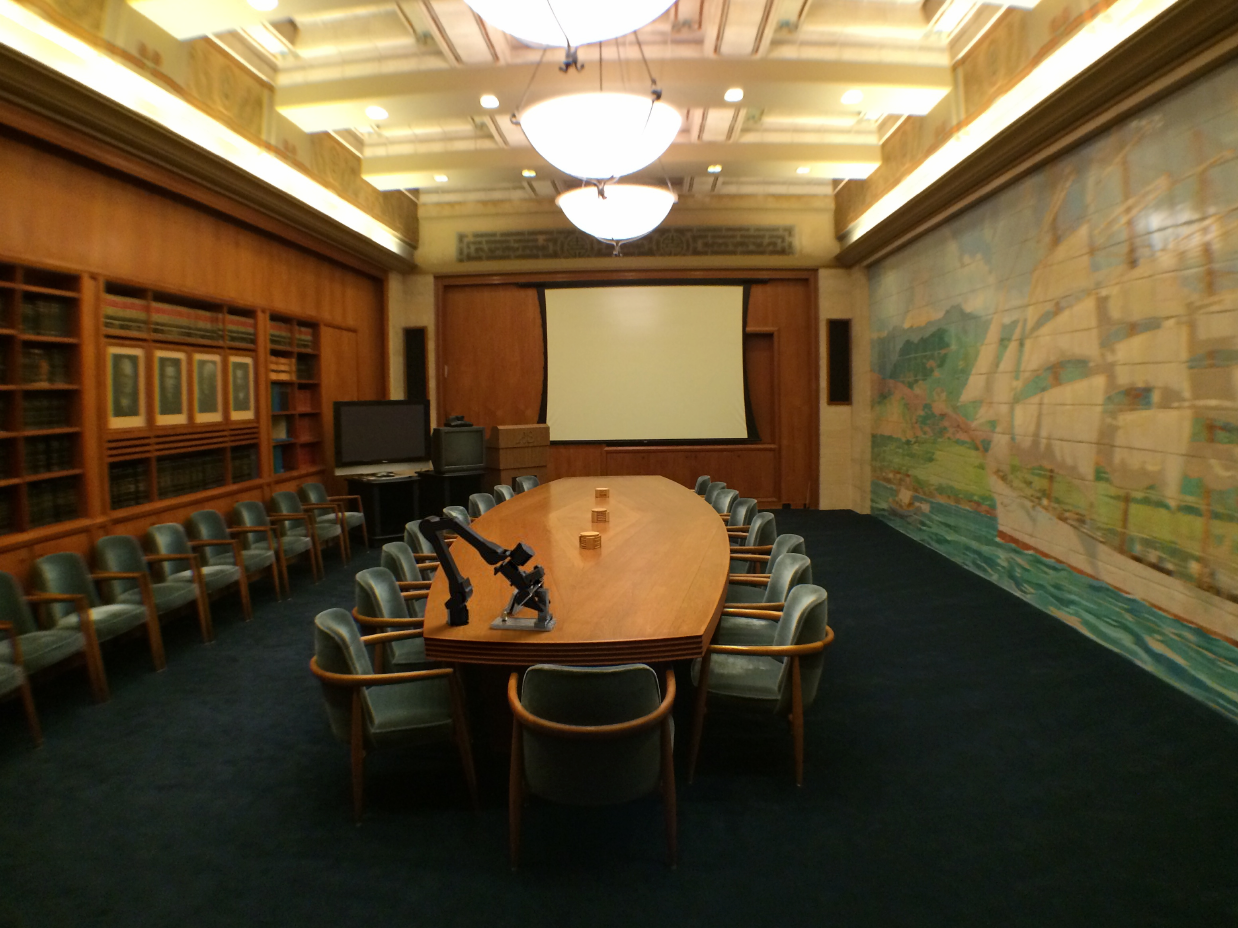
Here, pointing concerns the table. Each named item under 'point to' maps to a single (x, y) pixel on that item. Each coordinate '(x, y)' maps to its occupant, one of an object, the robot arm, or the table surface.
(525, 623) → the bolt plate
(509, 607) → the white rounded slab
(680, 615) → the table surface
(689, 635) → the table surface
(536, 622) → the leg
